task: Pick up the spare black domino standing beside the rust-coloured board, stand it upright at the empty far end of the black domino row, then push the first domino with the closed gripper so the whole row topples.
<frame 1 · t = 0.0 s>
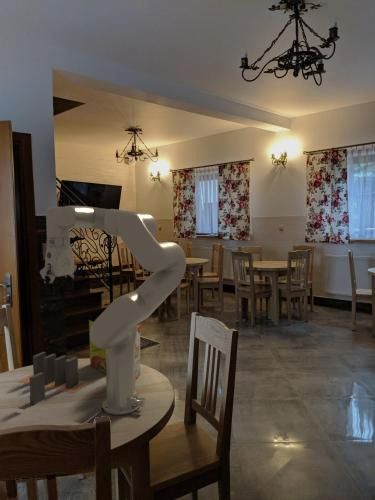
hand: (60, 292, 133), 37 cm above the table, tool pointing down, fingers open, 9 cm apart
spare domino: (38, 404, 129), on the table
domino 1: (72, 385, 141), point 1 cm above the table, touching domino board
food package: (99, 372, 156), on the table
domino 3: (50, 381, 144), point 1 cm above the table, touching domino board
domino 2: (61, 383, 142), point 1 cm above the table, touching domino board
domino board: (52, 384, 144), on the table
cracker box: (128, 384, 144), on the table
domino 4: (40, 379, 146), point 1 cm above the table, touching domino board
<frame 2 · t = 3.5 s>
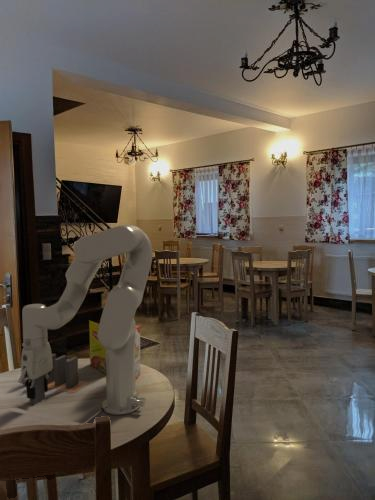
hand: (37, 394, 129), 3 cm above the table, tool pointing down, fingers closed on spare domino, 4 cm apart
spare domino: (37, 404, 129), on the table, touching gripper
everything else where it was.
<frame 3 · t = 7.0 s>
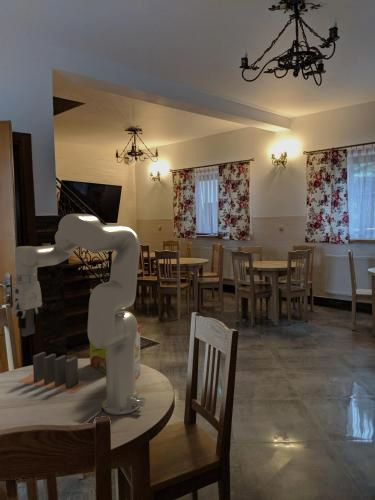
hand: (28, 325, 146), 22 cm above the table, tool pointing down, fingers closed on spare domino, 4 cm apart
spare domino: (28, 334, 146), point 18 cm above the table, touching gripper
everything else where it was.
when the fingers open (5 cm above the table, at t = 10.6 s): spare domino stays where it is, resting on domino board.
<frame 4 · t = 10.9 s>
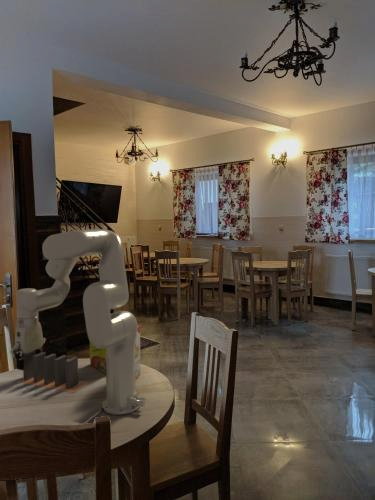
hand: (29, 365, 148), 6 cm above the table, tool pointing down, fingers open, 8 cm apart
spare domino: (30, 377, 148), point 1 cm above the table, touching domino board
everything else where it was.
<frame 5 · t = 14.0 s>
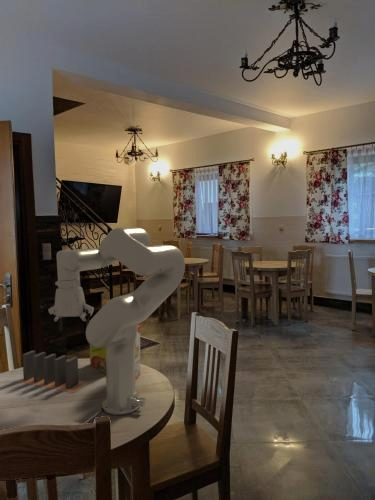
hand: (72, 331, 139), 22 cm above the table, tool pointing down, fingers open, 9 cm apart
nothing on the table moved.
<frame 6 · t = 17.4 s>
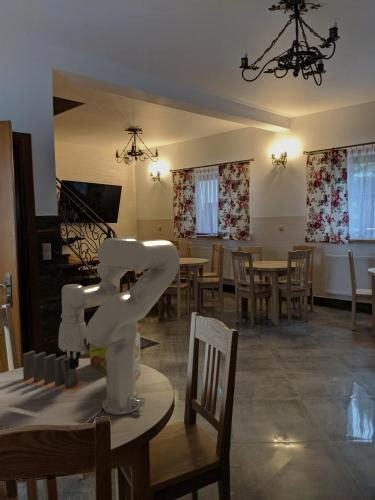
hand: (74, 367, 140), 8 cm above the table, tool pointing down, fingers closed
domino 1: (72, 385, 140), point 1 cm above the table, tilted 12°, touching domino board
everything else where it was.
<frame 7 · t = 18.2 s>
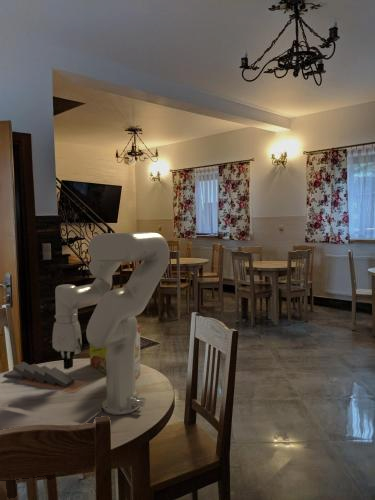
hand: (68, 367, 141), 8 cm above the table, tool pointing down, fingers closed
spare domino: (27, 375, 148), point 2 cm above the table, tilted 96°, touching domino board, domino 4
domino 1: (70, 383, 141), point 2 cm above the table, tilted 71°, touching domino 2
domino 3: (48, 379, 145), point 2 cm above the table, tilted 71°, touching domino board, domino 2, domino 4
domino 2: (59, 381, 143), point 2 cm above the table, tilted 71°, touching domino board, domino 1, domino 3
domino 4: (37, 377, 147), point 2 cm above the table, tilted 71°, touching domino 3, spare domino
everything else where it was.
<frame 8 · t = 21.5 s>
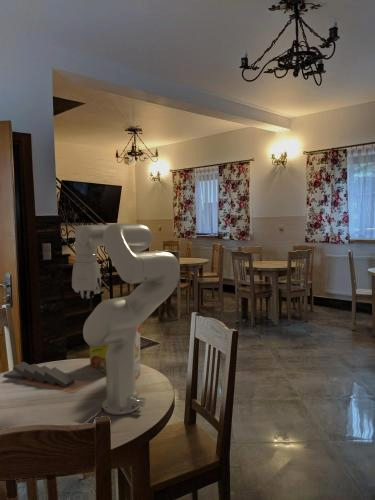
hand: (87, 308, 142), 29 cm above the table, tool pointing down, fingers closed
nothing on the table moved.
at the end: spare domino tilted 96°; domino 1 tilted 71°; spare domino inside the target area (0.9 cm from its centre), point 1.9 cm above the table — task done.
